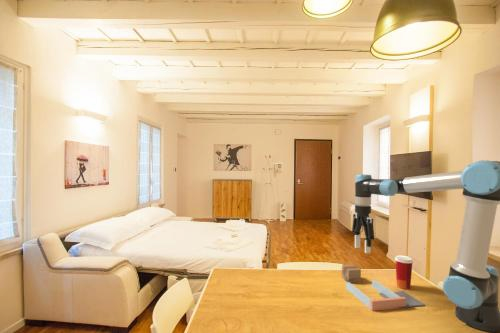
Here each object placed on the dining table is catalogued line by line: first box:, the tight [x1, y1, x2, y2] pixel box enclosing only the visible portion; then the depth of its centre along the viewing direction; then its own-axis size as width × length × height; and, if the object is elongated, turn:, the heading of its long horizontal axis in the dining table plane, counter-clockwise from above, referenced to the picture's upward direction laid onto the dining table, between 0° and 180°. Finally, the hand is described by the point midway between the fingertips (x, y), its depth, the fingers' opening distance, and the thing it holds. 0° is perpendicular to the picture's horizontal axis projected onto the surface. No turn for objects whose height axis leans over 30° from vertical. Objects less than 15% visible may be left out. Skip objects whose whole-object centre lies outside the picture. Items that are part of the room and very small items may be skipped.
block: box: [341, 264, 362, 284], centre depth 149 cm, size 7×7×7 cm
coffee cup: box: [394, 255, 414, 290], centre depth 142 cm, size 8×8×15 cm
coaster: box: [379, 290, 425, 309], centre depth 128 cm, size 13×13×1 cm
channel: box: [345, 280, 406, 312], centre depth 130 cm, size 22×16×4 cm
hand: (362, 250), depth 139 cm, fingers open, 8 cm apart
